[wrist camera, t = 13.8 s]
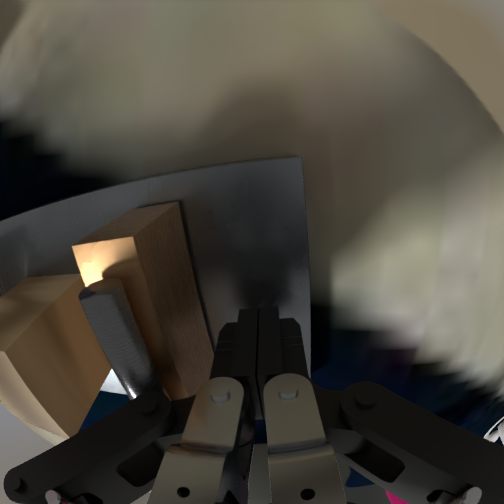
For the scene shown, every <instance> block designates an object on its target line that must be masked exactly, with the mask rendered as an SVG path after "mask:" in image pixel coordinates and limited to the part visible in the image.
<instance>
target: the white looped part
mask: <svg viewBox="0 0 504 504" xmlns="http://www.w3.org/2000/svg"><path fill="white" fill-rule="evenodd" d="M503 418H504V417H502V418H501V419H500V420H499V421H498V422H497V423H496V424H495V425H494V426H493V427H492V428H491V429H490V430H489V431H488V432H487V433H486V435H485V436H484V438H485V439H487V440H489V441H492V442H495V441H496V440H497V439H498V437H499V436H500V438H501V440H502V442H503V445H504V421H503V422H502V423H501V424H500V425H499V426H498V430H496V431H494V432H492V433H491V434H490V435H489V433H490V431H491V430H492V429H493V428H494V427H495V426H496V425H497V424H498V423H499V422H500V421H501V420H502V419H503Z"/></svg>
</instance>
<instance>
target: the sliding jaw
mask: <svg viewBox="0 0 504 504" xmlns="http://www.w3.org/2000/svg"><path fill="white" fill-rule="evenodd" d="M72 248H73V252H74V255H75V258H76V261H77V264H78V267H79V270H80V273H81V276H82V279H83V281H84V284H85V288H84V289H83V290H82V291H81V292H80V293H79V296H78V298H79V300H80V303H81V305H82V308H83V310H84V312H85V315H86V317H87V319H88V321H89V324H90V326H91V328H92V330H93V332H94V334H95V336H96V338H97V340H98V343H99V345H100V347H101V348H102V350H103V352H104V354H105V356H106V358H107V360H108V362H109V364H110V366H111V367H112V369H113V371H114V373H115V374H116V376H117V378H118V380H119V381H120V383H121V385H122V386H123V388H124V390H125V391H126V393H127V395H128V396H129V398H130V399H131V400H132V399H134V398H135V397H137V396H139V395H140V394H143V393H146V392H160V393H163V394H165V395H166V396H167V397H168V398H169V400H170V401H174V400H178V399H183V398H188V397H191V396H193V395H196V394H197V391H198V389H199V388H200V386H201V385H202V384H203V383H205V382H206V381H208V380H209V377H210V373H211V368H212V363H213V359H214V353H213V350H212V346H211V342H210V339H209V335H208V331H207V327H206V324H205V320H204V316H203V312H202V308H201V304H200V300H199V296H198V292H197V288H196V283H195V279H194V275H193V270H192V266H191V261H190V257H189V252H188V248H187V243H186V238H185V233H184V228H183V223H182V218H181V213H180V207H179V202H173V203H167V204H161V205H155V206H149V207H143V208H138V209H132V210H129V211H127V212H126V213H124V214H122V215H120V216H119V217H117V218H115V219H114V220H112V221H110V222H109V223H107V224H105V225H104V226H102V227H101V228H99V229H97V230H96V231H94V232H93V233H91V234H89V235H88V236H86V237H85V238H83V239H82V240H80V241H79V242H77V243H76V244H74V245H73V246H72Z"/></svg>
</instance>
